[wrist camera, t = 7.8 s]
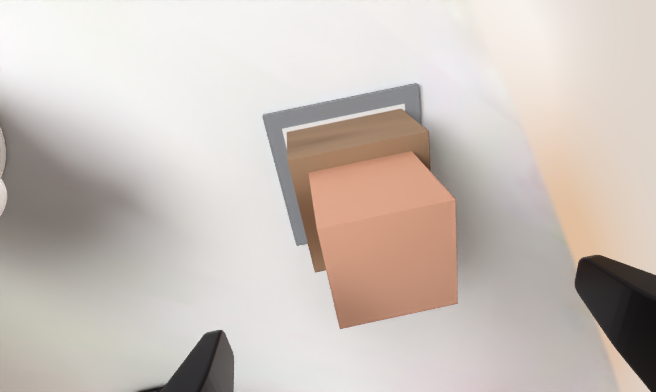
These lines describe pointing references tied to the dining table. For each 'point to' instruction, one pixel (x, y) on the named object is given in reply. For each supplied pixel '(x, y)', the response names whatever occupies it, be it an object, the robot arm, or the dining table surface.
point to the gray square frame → (325, 114)
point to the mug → (0, 160)
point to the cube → (385, 238)
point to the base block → (348, 155)
